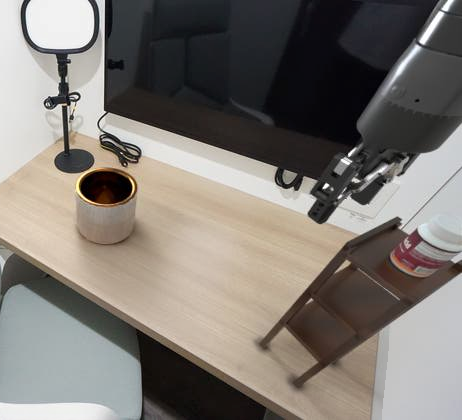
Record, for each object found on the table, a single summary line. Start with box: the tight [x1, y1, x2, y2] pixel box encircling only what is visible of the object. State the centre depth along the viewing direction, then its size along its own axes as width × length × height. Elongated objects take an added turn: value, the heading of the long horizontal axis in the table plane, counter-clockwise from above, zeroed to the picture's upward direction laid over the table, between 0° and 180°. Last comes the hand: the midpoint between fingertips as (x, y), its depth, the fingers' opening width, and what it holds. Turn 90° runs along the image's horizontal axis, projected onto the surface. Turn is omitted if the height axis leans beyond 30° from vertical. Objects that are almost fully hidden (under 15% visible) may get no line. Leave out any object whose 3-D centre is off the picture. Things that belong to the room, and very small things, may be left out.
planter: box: [74, 166, 139, 245], centre depth 92 cm, size 18×18×16 cm
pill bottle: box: [390, 212, 462, 277], centre depth 42 cm, size 5×5×8 cm
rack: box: [258, 215, 462, 389], centre depth 57 cm, size 10×12×36 cm
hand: (337, 209), depth 43 cm, fingers open, 8 cm apart
